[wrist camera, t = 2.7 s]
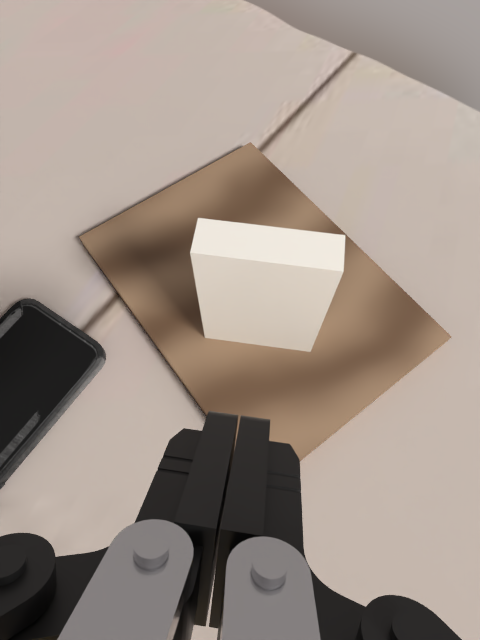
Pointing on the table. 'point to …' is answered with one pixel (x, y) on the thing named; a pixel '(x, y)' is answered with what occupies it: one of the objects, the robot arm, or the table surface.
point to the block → (264, 282)
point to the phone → (39, 376)
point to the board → (249, 359)
